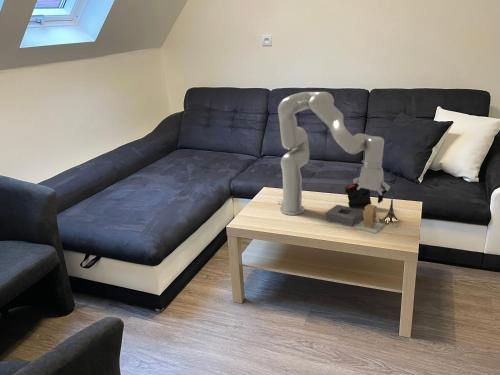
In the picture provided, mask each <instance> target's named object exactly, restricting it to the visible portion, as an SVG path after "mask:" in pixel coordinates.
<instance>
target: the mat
mask: <svg viewBox="0 0 500 375" xmlns="http://www.w3.org/2000/svg"><path fill="white" fill-rule="evenodd" d="M384 226H385V225H384V224H381V223H380V222H376V224H375V226H374V227H373V228H372V229H371V228H367V227H364V219H363V220H362V221H361V222H360V223H358V225H356V226H355V227H354V229H355V230H356V229H357V230H361V231H363V232H369V233H372V234H374V235H375V234H377V233H378V232H379V231H380V230H381V229H382V228H383V227H384Z"/></svg>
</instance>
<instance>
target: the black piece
mask: <svg viewBox="0 0 500 375" xmlns="http://www.w3.org/2000/svg"><path fill="white" fill-rule="evenodd" d="M357 183H358V184H359V181H357ZM362 189H363V190H362V197H360V198H358V196H357V192H358V190H357V188H356V186H355V185H354V183H352V184H349V185H347V186H345V187H344V190H345V191H344V192H345V194H346V195H347V199H348V202H347V203H348V207H350V208H355V209H365V206H367V205H368V204H370V205H372V200H371V196H370V194H371V190H369V189H365V188H362Z"/></svg>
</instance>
